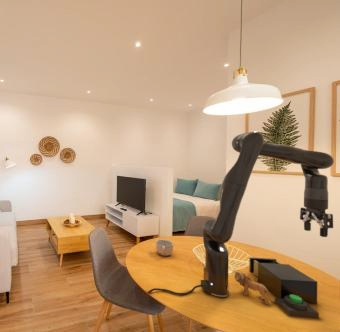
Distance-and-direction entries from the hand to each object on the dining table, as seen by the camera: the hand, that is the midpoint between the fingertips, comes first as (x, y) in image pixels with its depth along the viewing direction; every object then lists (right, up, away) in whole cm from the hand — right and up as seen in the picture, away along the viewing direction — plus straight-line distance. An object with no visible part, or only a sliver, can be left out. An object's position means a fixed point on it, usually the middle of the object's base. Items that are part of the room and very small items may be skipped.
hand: (315, 233), depth 96 cm
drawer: (-10, -27, +13) cm, 31 cm away
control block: (-18, -28, -10) cm, 35 cm away
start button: (-19, -24, -10) cm, 32 cm away
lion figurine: (-29, -28, -1) cm, 40 cm away
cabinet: (-12, -28, +2) cm, 30 cm away
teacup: (-53, -28, +43) cm, 74 cm away
